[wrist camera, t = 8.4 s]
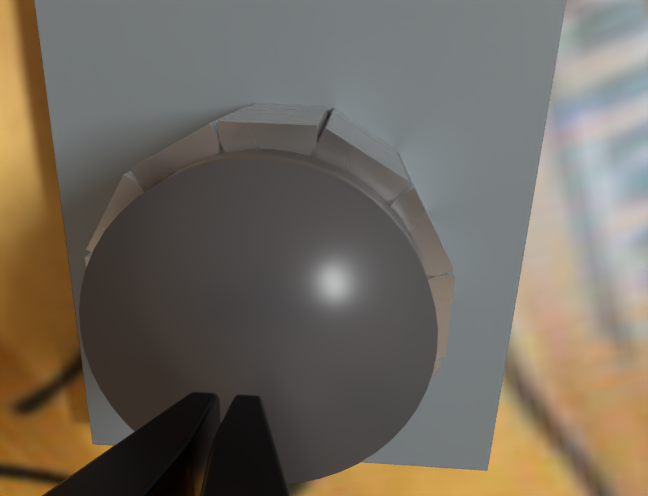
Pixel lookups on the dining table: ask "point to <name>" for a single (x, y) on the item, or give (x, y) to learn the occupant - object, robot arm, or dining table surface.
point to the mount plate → (335, 92)
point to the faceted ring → (319, 142)
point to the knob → (264, 305)
